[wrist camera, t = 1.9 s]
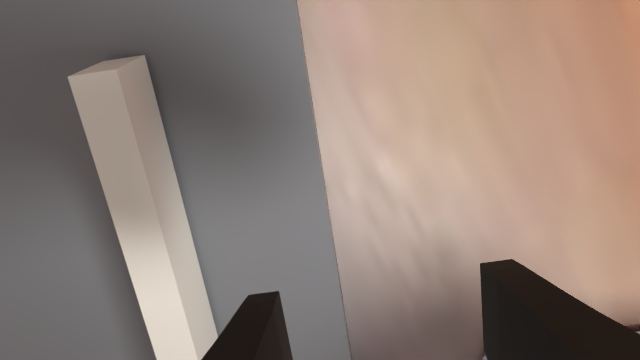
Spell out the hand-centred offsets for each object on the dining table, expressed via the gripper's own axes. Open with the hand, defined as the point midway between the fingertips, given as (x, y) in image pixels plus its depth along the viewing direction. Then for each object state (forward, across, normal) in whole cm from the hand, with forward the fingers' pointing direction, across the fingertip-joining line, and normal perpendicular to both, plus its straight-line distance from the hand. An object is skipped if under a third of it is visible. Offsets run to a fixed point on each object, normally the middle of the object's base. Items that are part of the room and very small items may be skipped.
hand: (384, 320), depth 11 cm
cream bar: (+7, +6, +3) cm, 9 cm away
